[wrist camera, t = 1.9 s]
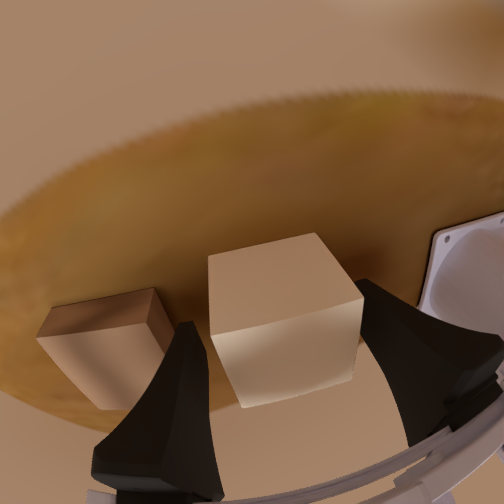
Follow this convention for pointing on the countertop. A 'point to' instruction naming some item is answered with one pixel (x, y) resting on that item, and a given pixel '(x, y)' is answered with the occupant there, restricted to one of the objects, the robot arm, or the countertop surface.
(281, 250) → the block
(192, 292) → the countertop surface
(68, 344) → the stand
